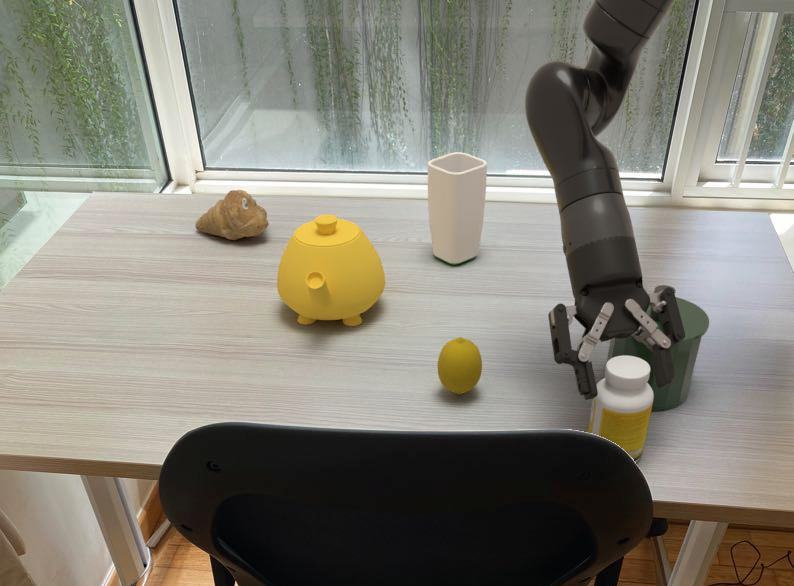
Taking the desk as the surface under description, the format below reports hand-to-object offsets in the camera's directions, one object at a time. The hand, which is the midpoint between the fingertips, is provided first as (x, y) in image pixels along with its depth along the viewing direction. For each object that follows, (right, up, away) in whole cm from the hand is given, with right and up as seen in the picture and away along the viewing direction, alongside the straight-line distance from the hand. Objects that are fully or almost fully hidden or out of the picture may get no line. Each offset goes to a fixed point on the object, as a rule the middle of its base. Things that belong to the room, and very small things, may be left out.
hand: (628, 391), depth 95 cm
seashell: (-52, +35, +54) cm, 83 cm away
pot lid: (+6, +10, +10) cm, 15 cm away
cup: (-15, +29, +45) cm, 56 cm away
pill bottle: (0, -6, +7) cm, 9 cm away
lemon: (-17, +2, +17) cm, 24 cm away
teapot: (-35, +16, +32) cm, 50 cm away
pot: (+7, +3, +16) cm, 18 cm away
